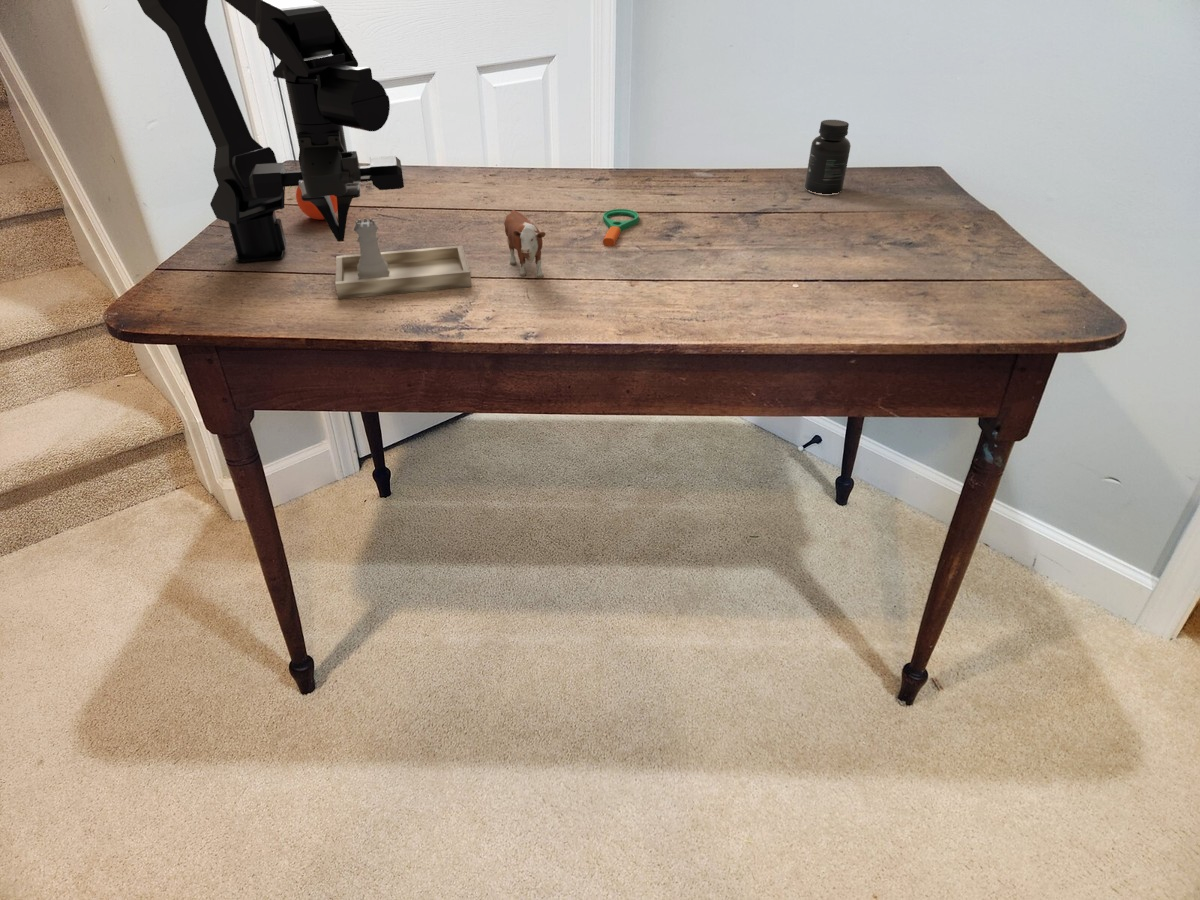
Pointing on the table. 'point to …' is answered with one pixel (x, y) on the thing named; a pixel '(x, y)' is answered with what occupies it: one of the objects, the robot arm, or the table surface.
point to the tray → (405, 272)
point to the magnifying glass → (617, 224)
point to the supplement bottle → (828, 158)
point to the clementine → (313, 206)
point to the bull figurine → (523, 241)
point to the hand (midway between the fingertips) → (340, 240)
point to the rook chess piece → (370, 251)
